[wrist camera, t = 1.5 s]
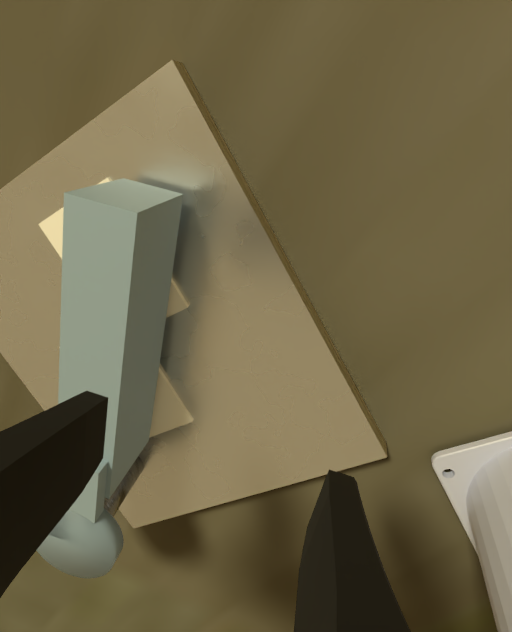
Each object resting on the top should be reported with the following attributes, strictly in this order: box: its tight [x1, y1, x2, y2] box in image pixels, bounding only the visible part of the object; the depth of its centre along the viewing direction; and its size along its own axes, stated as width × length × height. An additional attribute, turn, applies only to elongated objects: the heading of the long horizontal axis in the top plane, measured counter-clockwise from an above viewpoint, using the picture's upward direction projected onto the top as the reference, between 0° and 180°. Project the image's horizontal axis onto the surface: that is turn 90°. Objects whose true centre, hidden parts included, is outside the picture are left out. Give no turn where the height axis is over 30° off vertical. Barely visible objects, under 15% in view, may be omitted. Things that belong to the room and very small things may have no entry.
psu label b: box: [59, 347, 194, 438], centre depth 22 cm, size 6×4×1 cm, turn 30°
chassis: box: [0, 60, 387, 528], centre depth 19 cm, size 18×15×5 cm
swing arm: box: [37, 178, 183, 578], centre depth 19 cm, size 16×4×4 cm, turn 168°
